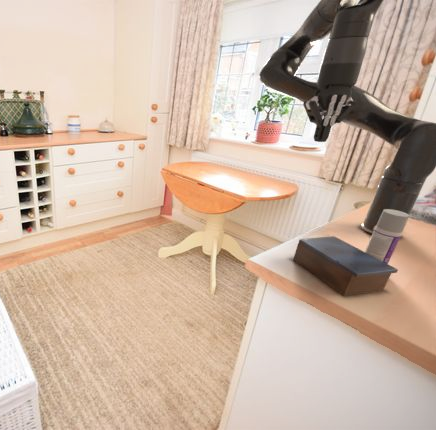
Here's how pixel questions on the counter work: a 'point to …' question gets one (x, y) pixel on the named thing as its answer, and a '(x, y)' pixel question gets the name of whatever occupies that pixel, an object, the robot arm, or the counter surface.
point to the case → (338, 274)
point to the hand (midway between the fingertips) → (319, 141)
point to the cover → (348, 256)
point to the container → (387, 234)
